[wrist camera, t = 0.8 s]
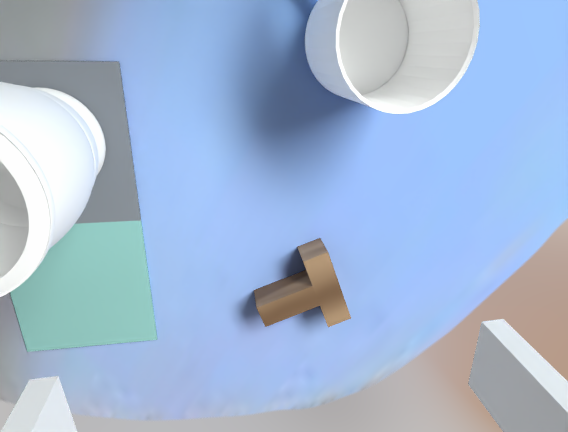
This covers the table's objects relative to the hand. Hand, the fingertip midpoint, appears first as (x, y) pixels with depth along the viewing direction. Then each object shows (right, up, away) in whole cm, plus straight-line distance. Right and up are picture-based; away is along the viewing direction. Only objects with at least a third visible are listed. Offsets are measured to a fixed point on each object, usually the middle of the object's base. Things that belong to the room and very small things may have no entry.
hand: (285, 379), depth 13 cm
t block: (+1, -2, +28) cm, 28 cm away
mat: (-19, +5, +22) cm, 29 cm away
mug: (+5, +21, +19) cm, 29 cm away
